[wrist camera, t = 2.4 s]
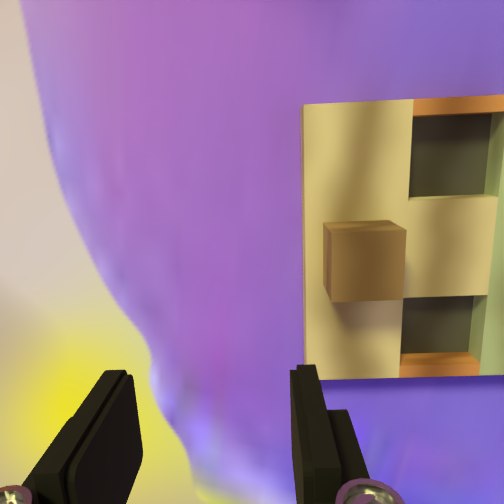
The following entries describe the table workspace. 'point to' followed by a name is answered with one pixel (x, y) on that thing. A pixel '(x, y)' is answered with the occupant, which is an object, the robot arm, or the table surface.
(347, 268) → the walnut block
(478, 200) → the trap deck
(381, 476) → the table surface
